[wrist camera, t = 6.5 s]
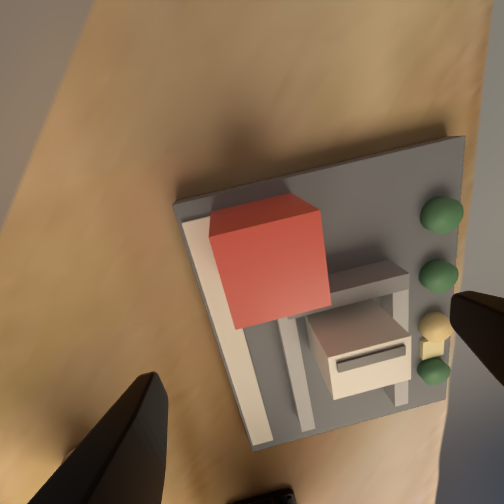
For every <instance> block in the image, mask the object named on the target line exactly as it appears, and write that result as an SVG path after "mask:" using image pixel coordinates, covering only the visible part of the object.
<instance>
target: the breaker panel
mask: <svg viewBox="0 0 504 504" xmlns="http://www.w3.org/2000/svg"><path fill="white" fill-rule="evenodd" d="M464 149H465V136H448V137H444V138H439V139H435V140H431V141H427V142H422V143H418V144H414V145H410V146H406V147H401V148H397V149H393V150H389V151H384V152H380V153H376V154H372V155H367V156H363V157H359V158H355V159H351V160H346V161H342V162H338V163H334V164H329V165H325V166H321V167H317V168H312V169H308V170H304V171H300V172H295V173H291V174H287V175H283V176H279V177H274V178H270V179H266V180H262V181H257V182H253V183H249V184H245V185H240V186H236V187H232V188H228V189H224V190H219V191H215V192H211V193H207V194H202V195H198V196H194V197H190V198H185V199H181V200H177V201H175V202H174V203H173V205H172V206H173V209H174V212H175V215H176V218H177V221H178V224H179V227H180V230H181V233H182V236H183V240H184V243H185V246H186V249H187V252H188V255H189V258H190V261H191V264H192V267H193V270H194V273H195V276H196V279H197V282H198V286H199V289H200V292H201V295H202V298H203V301H204V304H205V307H206V310H207V313H208V316H209V319H210V322H211V325H212V328H213V331H214V335H215V338H216V341H217V344H218V347H219V350H220V353H221V356H222V359H223V362H224V365H225V368H226V371H227V374H228V377H229V380H230V384H231V387H232V390H233V393H234V396H235V399H236V402H237V405H238V408H239V411H240V414H241V417H242V420H243V423H244V426H245V430H246V433H247V436H248V439H249V442H250V445H251V448H252V451H253V452H255V451H258V450H262V449H266V448H269V447H273V446H277V445H280V444H284V443H288V442H291V441H295V440H299V439H302V438H306V437H310V436H313V435H317V434H321V433H324V432H328V431H331V430H335V429H339V428H342V427H346V426H350V425H353V424H357V423H361V422H364V421H368V420H372V419H375V418H379V417H383V416H386V415H390V414H394V413H397V412H401V411H405V410H408V409H412V408H416V407H419V406H423V405H427V404H430V403H434V402H437V401H441V400H445V399H446V387H447V378H448V377H449V375H450V372H451V370H450V367H449V366H448V361H449V347H450V335H451V334H452V332H453V330H454V329H453V328H452V326H451V324H450V321H449V316H450V302H451V297H452V296H453V294H454V284H455V283H456V281H457V279H458V270H457V268H456V255H457V241H458V228H459V223H460V222H461V220H462V217H463V206H462V204H461V203H460V202H461V188H462V175H463V162H464ZM287 193H293V194H294V195H296V196H298V197H299V198H301V199H303V200H304V201H306V202H308V203H309V204H311V205H313V206H314V207H316V208H317V209H319V210H320V213H321V221H322V229H323V238H324V246H325V254H326V262H327V271H328V279H329V287H330V296H331V304H332V305H331V306H327V307H323V308H319V309H315V310H311V311H308V312H304V313H300V314H296V315H292V316H288V317H284V318H280V319H276V320H272V321H269V322H265V323H261V324H257V325H253V326H249V327H245V328H241V329H237V330H235V327H234V324H233V320H232V317H231V313H230V310H229V306H228V303H227V299H226V296H225V292H224V289H223V286H222V282H221V279H220V275H219V272H218V268H217V265H216V261H215V258H214V254H213V251H212V247H211V244H210V241H209V225H210V213H211V212H212V211H216V210H220V209H225V208H229V207H233V206H237V205H241V204H246V203H250V202H254V201H258V200H262V199H266V198H271V197H275V196H279V195H283V194H287ZM372 298H373V299H374V300H375V301H376V302H377V303H378V304H379V305H380V306H381V307H382V308H383V309H384V310H385V311H386V312H387V313H388V314H389V315H390V316H391V317H392V318H393V319H394V320H395V321H397V322H398V323H399V324H400V325H401V326H402V327H403V328H404V329H405V330H406V331H407V332H408V333H409V334H410V335H411V380H407V381H403V382H399V383H396V384H392V385H388V386H385V387H381V388H377V389H373V390H370V391H366V392H362V393H359V394H355V395H351V396H347V397H344V398H340V399H336V400H333V398H332V395H331V393H330V391H329V389H328V387H327V385H326V383H325V380H324V378H323V376H322V374H321V372H320V370H319V368H318V365H317V363H316V361H315V359H314V357H313V355H312V353H311V350H310V346H309V340H308V334H307V328H306V322H305V316H306V315H310V314H314V313H318V312H322V311H325V310H329V309H333V308H337V307H341V306H345V305H349V304H353V303H357V302H361V301H364V300H368V299H372Z"/></svg>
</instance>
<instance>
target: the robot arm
mask: <svg viewBox="0 0 504 504" xmlns="http://www.w3.org/2000/svg"><path fill="white" fill-rule="evenodd" d="M449 321H450V324H451V326H452V328H453V329H454V330H455V332H456V333H457V334H458V335H459V336H460V337H461V339H462V340H463V341H464V342H465V343H466V344H467V346H468V347H469V348H470V349H471V350H472V351H473V352H474V354H475V355H476V356H477V357H478V358H479V360H480V361H481V362H482V363H483V364H484V365H485V366H486V368H487V369H488V370H489V371H490V372H491V373H492V374H493V376H494V377H495V378H496V379H497V380H498V381H499V382H500V383H501V384H502V385H503V386H504V298H501V297H497V296H492V295H488V294H483V293H478V292H474V291H464V292H460V293H456V294H454V295H453V296H452V297H451V302H450V316H449ZM167 426H168V396H167V393H166V390H165V388H164V386H163V384H162V382H161V379H160V377H159V375H158V374H157V373H156V372H149V373H146V374H142V375H140V376H138V377H137V378H136V379H135V381H134V382H133V383H132V384H131V385H130V386H129V387H128V389H127V390H126V391H125V392H124V393H123V394H122V396H121V397H120V398H119V399H118V400H117V401H116V402H115V404H114V405H113V406H112V407H111V408H110V409H109V410H108V412H107V413H106V414H105V415H104V416H103V417H102V418H101V420H100V421H99V422H98V423H97V424H96V425H95V426H94V428H93V429H92V430H91V431H90V432H89V433H88V435H87V436H86V437H85V438H84V439H83V440H82V441H81V443H80V444H79V445H78V446H77V447H76V448H75V449H74V451H73V452H72V453H71V454H70V455H69V456H68V457H67V459H66V460H65V461H64V462H63V463H62V464H61V466H60V467H59V468H58V469H57V470H56V471H55V472H54V474H53V475H52V476H51V477H50V478H49V479H48V480H47V482H46V483H45V484H44V485H43V486H42V487H41V488H40V490H39V491H38V492H37V493H36V494H35V495H34V497H33V498H32V499H31V500H30V501H29V502H28V503H27V504H161V501H162V493H163V486H164V478H165V470H166V451H167ZM236 504H297V503H296V499H295V495H294V492H293V490H292V489H286V490H282V491H278V492H275V493H271V494H268V495H264V496H261V497H257V498H253V499H250V500H246V501H243V502H239V503H236Z"/></svg>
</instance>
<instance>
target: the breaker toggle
mask: <svg viewBox="0 0 504 504" xmlns="http://www.w3.org/2000/svg"><path fill="white" fill-rule="evenodd" d="M305 322H306V328H307V334H308V340H309V346H310V350H311V353H312V355H313V357H314V359H315V361H316V363H317V365H318V368H319V370H320V372H321V374H322V376H323V378H324V380H325V383H326V385H327V387H328V389H329V391H330V393H331V395H332V398H333V400H336V399H340V398H344V397H347V396H351V395H355V394H359V393H362V392H366V391H370V390H373V389H377V388H381V387H385V386H388V385H392V384H396V383H399V382H403V381H407V380H411V335H410V334H409V333H408V332H407V331H406V330H405V329H404V328H403V327H402V326H401V325H400V324H399V323H398V322H397V321H395V320H394V319H393V318H392V317H391V316H390V315H389V314H388V313H387V312H386V311H385V310H384V309H383V308H382V307H381V306H380V305H379V304H378V303H377V302H376V301H375V300H374V299H373V298H372V299H368V300H364V301H361V302H357V303H353V304H349V305H345V306H341V307H337V308H333V309H329V310H325V311H322V312H318V313H314V314H310V315H306V316H305Z"/></svg>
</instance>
